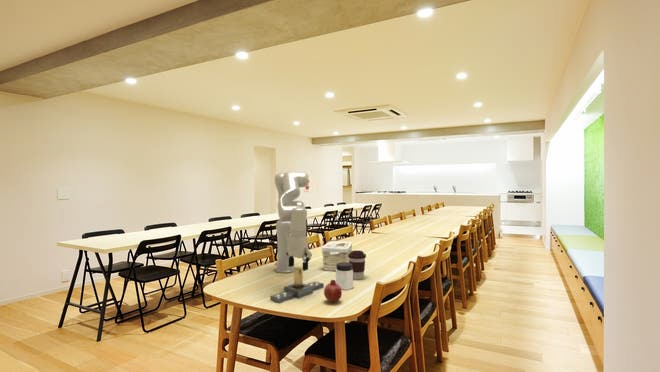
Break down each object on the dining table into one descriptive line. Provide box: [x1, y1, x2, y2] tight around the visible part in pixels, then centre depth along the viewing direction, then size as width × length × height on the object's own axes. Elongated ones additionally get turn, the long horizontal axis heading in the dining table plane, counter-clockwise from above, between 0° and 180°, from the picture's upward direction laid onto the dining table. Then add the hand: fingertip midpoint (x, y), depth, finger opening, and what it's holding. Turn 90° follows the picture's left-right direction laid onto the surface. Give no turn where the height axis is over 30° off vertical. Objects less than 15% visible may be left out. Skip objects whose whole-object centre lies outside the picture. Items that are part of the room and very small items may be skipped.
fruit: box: [323, 279, 342, 303], centre depth 153 cm, size 8×8×10 cm
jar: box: [335, 262, 354, 291], centre depth 174 cm, size 9×8×12 cm
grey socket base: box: [269, 281, 325, 304], centre depth 165 cm, size 10×30×3 cm, turn 140°
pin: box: [293, 267, 304, 289], centre depth 165 cm, size 4×4×12 cm
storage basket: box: [321, 240, 353, 272], centre depth 217 cm, size 24×16×15 cm
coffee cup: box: [348, 250, 367, 281], centre depth 191 cm, size 10×10×15 cm
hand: (298, 268), depth 166 cm, fingers open, 9 cm apart
